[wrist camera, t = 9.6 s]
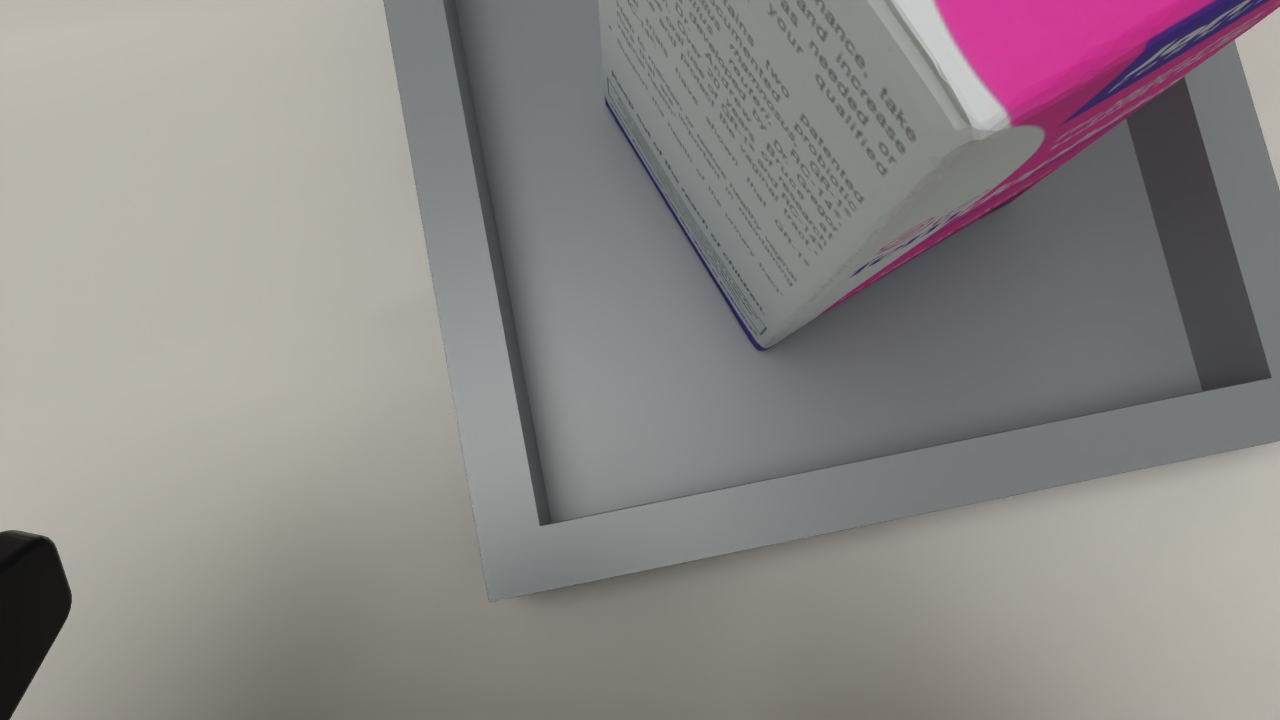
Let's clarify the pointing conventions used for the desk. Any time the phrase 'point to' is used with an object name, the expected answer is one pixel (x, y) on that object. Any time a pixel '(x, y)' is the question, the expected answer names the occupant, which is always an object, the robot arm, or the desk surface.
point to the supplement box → (874, 121)
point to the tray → (826, 346)
